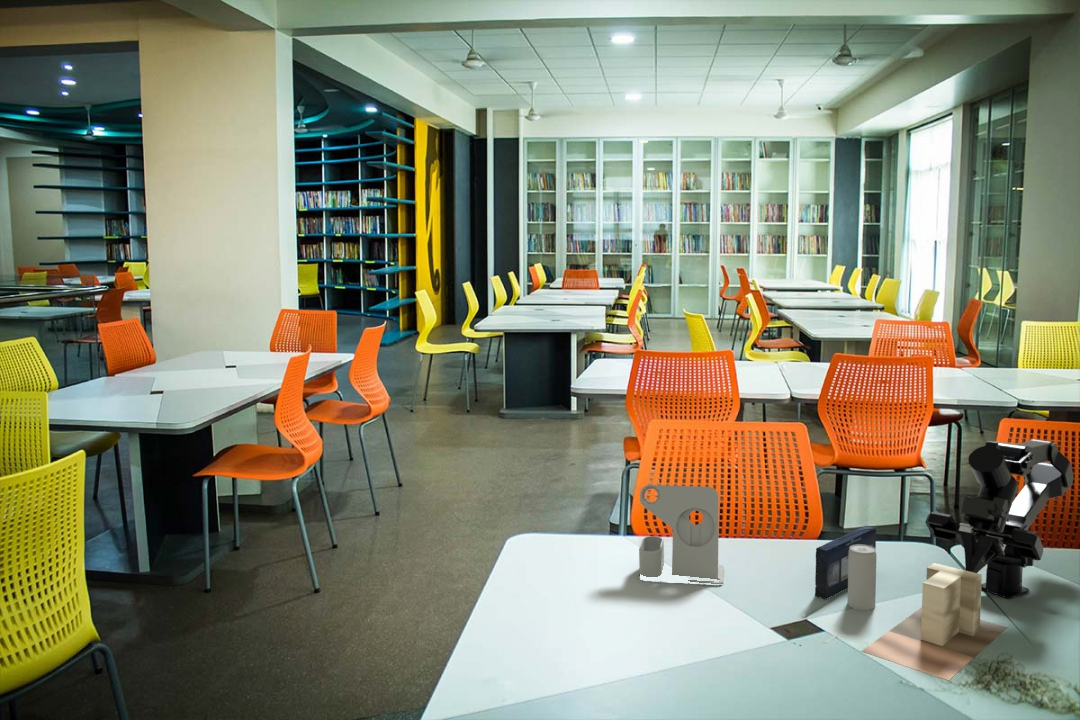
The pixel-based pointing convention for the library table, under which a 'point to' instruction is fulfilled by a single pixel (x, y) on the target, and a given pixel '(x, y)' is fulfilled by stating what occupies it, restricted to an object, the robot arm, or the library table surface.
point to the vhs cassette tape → (838, 561)
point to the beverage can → (862, 577)
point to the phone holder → (684, 533)
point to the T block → (950, 603)
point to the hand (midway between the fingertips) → (968, 576)
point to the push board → (932, 647)
